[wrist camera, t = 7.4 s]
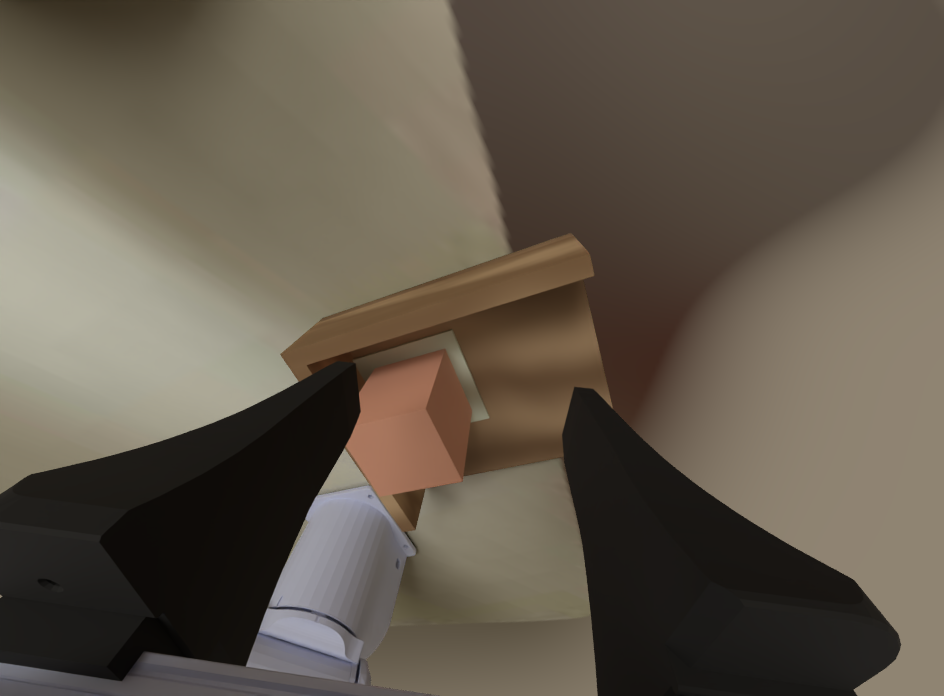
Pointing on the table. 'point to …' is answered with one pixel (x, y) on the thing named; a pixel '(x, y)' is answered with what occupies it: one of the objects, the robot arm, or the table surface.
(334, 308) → the table surface
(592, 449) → the robot arm
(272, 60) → the table surface
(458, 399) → the cube
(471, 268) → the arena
